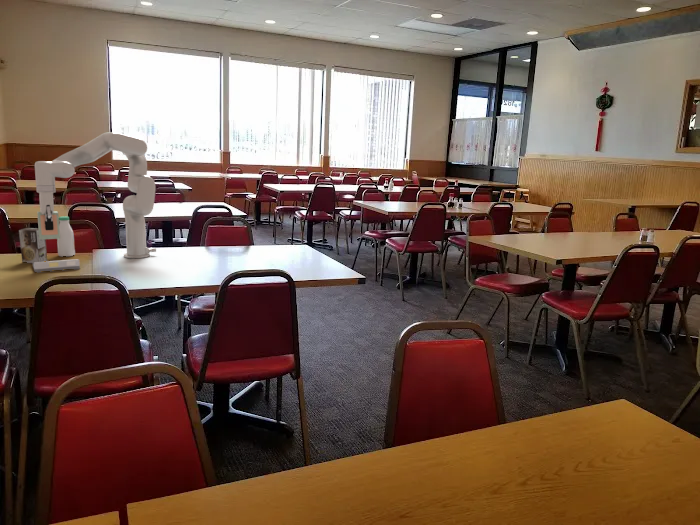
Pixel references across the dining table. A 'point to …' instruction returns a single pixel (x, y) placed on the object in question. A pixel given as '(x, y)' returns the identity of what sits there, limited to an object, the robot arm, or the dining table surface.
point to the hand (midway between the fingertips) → (48, 228)
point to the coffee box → (32, 246)
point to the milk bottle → (65, 238)
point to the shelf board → (56, 265)
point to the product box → (48, 233)
